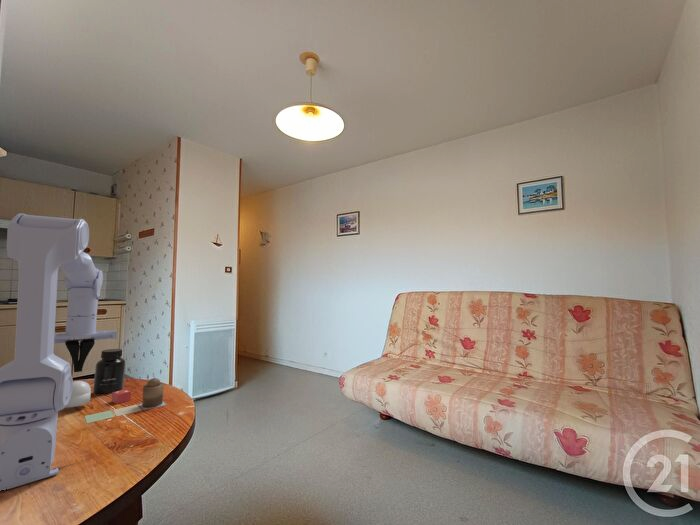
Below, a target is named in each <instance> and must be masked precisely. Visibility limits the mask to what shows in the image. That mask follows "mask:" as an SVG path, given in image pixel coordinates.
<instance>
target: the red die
mask: <svg viewBox="0 0 700 525" xmlns="http://www.w3.org/2000/svg"><path fill="white" fill-rule="evenodd" d="M131 396H132V391H131V390H128V389H124V388H123V389H122V390H120V391H116V392H112V393H111V402H112V403H113V404H116V405H121V404H123V403H126V402H130V401H131Z"/></svg>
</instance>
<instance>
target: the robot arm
mask: <svg viewBox="0 0 700 525" xmlns="http://www.w3.org/2000/svg"><path fill="white" fill-rule="evenodd" d="M6 231H7V234H6V235H7V236H6V252H7V253H6V255H7V258H9V259H12V260H13V261H17V264H18V283H17V284H18V285H17V304H16V320H15V321H16V322H15V340H14V359H12V360H11V361H9V362H8V363H5V364H4V365H2V366H1V367H0V491H1V490H4V491H6V489H7V490H10V489H13V488H16V487H20V486H23V485H26V484H30V483H33V482H37V481H39V480H42V479H46V478H49V477H53V476H56V475H57V474H59V472H60V471H59V466H58V467H54V468H52V463H53V462H54V461H55V453H56V452H55V451H56V439H57V438H56V437H57V428H58V417H59V416H58V415H59V411H62V410H64V409H65V408H64V407H65V406H67V404H68V403H69V401H70V398H71V394H72V388H73V382H74V381H73V375H72V366H71V363H70V362H68V361H67V360H65V359H63V358H61V357H60V356H57V355H56V354H54V351H55V350H54V349H55V344H63V343H64V345H65V347H66V349H67V351H68V353H69V354H70V357H71V358H70V359H71V361H72V364H73V372H74V373H81V372H83V367H84V364H85V362H86V359H87V357H88V356H89V354H90V352H91V350H92V349H93V347H94V346H95V340H96V341H97V340H98V341H99V340H108V339H113V340H115V339H117V338H118V331H117V330H115V329H113V330H97V329H96V328H97V318H98V304H99V297H100V296H101V290H102V286H103V281H104V274H103V270H102V269H100V270H99V268H98V267H97V268H96V266H95V264H94V262H93V260H92V257H91V256H90V255H89V254H88V253H87V252H84V251H85V249H86V248H88V244H89V242H90V229H89V224H88V222H86V220H85V219H83V218H68V217H55V216H47V215H45V216H44V215H34V214H26V213H21V212H20V213H17V214H16V215H15V216H13V217H12V218H11V220H10V221H9V222H8V225H7V230H6ZM59 268H60V269H61V271H62V272H63V274H64V279H63V280H64V282H65V288H66V290H67V291H68V299H67V307H66V308H67V311H66V318H65V319H66V320H65V333H55V332H56V318H57V317H56V314H57V313H56V312H57V300H58V299H57V296H58V276H59ZM1 492H2V491H1Z"/></svg>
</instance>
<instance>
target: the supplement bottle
mask: <svg viewBox="0 0 700 525" xmlns="http://www.w3.org/2000/svg"><path fill="white" fill-rule="evenodd" d="M122 356H123V349H122V348H108V349H104V350H102V351H101V355H100V358H101V359H100V360H99V361H97V362H96V363H95V369H94V370H95V371H94V380H93V392H92V393H93V395H98V396H99V395H101V396H102V395H109V394H112V392H116V391H120V390H124V381H125V372H126V359H124V358H123V357H122Z"/></svg>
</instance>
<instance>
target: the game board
mask: <svg viewBox="0 0 700 525" xmlns="http://www.w3.org/2000/svg"><path fill="white" fill-rule="evenodd" d="M165 406H167V404H166V403H165V402H164V401H163V402H162V404H161V405H159V406H156V407H151V408H144V407H142V403H138V404H134V405H133V404H132V405H129V406H124V407H119V408H115V409H112V410H111V409H109V410H107V411H101V412H96V413H93V414H88V415H84V416H83V417H84V419H85V422H86V424H91V423H94V422H100V421H103V420H108V419H112V418H115V416H116V417H121V416H124V415H129V414H134V413H137V412H142V411H146V410H151V409H154V408H159V407H165Z"/></svg>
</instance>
